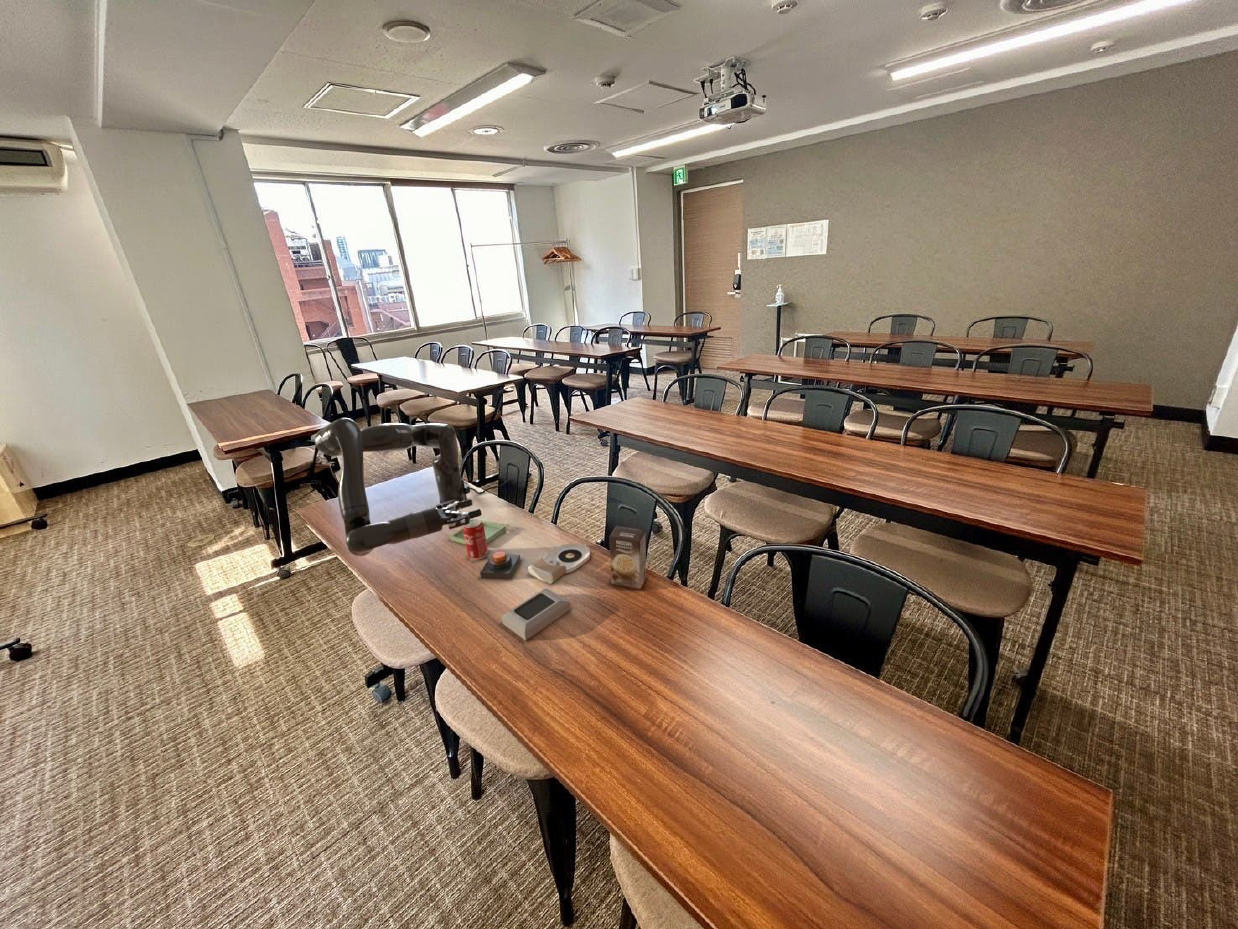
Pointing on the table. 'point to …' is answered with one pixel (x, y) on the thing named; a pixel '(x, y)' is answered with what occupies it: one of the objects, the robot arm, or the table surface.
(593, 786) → the table surface
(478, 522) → the beverage can
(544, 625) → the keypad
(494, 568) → the button box
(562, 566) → the record player
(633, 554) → the coffee box
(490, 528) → the tray
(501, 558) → the button
